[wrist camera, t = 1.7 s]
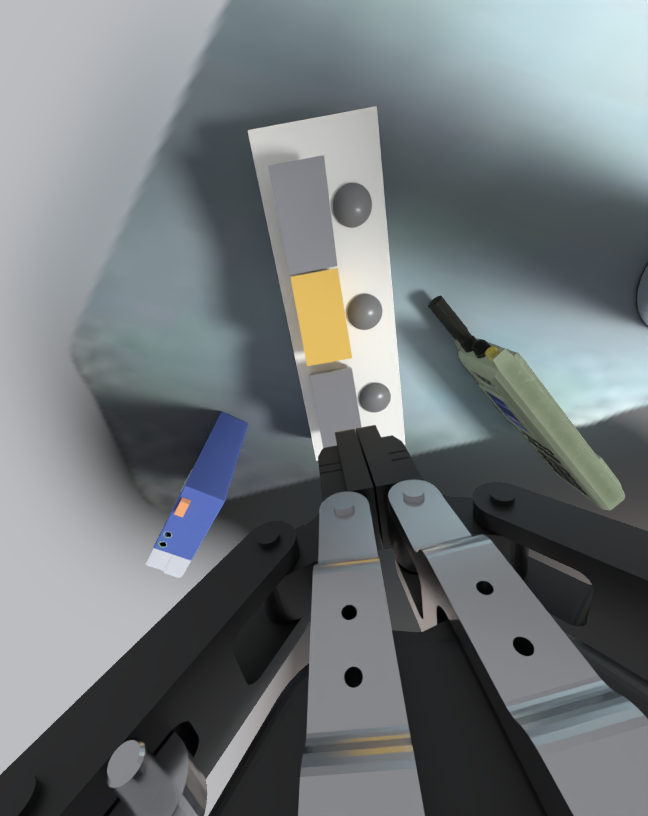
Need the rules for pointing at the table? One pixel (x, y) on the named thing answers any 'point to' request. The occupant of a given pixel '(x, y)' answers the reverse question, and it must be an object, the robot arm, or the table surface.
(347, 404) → the block
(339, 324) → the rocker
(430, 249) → the table surface
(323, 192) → the grey flat block
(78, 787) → the robot arm
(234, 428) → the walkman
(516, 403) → the handheld radio
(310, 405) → the power strip
